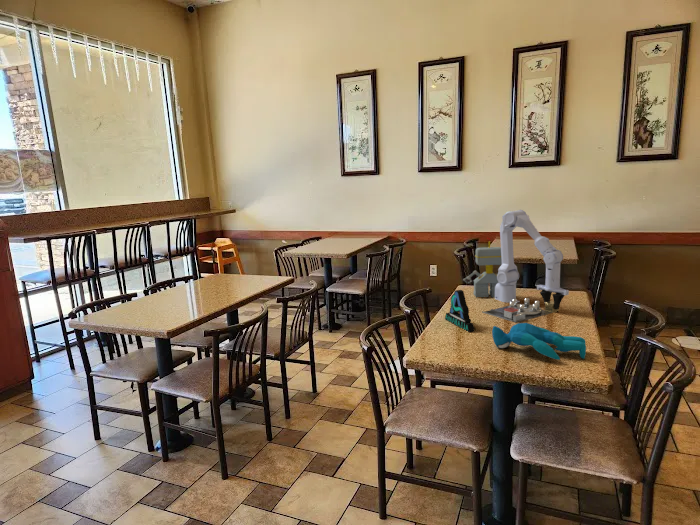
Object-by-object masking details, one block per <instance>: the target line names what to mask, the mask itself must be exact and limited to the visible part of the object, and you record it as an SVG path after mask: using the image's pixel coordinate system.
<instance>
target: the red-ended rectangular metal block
mask: <svg viewBox="0 0 700 525" xmlns="http://www.w3.org/2000/svg"><path fill="white" fill-rule="evenodd" d="M517 314H518V309H515V308H512V307H510V308H506V309H504V318H507V319H510V320H513V315H517Z"/></svg>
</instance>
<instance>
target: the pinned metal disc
mask: <svg viewBox="0 0 700 525" xmlns="http://www.w3.org/2000/svg"><path fill="white" fill-rule="evenodd" d="M517 300H518V299H517V298H516V299H512V302H510V303H509V305H508V306H509V307H508V308H510V307H512V308H515V309H518V314H521V313H523V314H525V316H533V315H538V314H541V313H542V310H543V309H542V307H540V305H541V304H540V303H541V302H540V301H539V300H534V303H532V304H530V298H528V297H527V298H524V303H517Z"/></svg>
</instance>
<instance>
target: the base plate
mask: <svg viewBox="0 0 700 525" xmlns="http://www.w3.org/2000/svg"><path fill="white" fill-rule="evenodd" d="M509 306H510V305H506V306H502V307H498V308H495V309H493V308H490V310H487V311H483V310H482V311H481V314H482V313H483V314H486V315H489V316H493V317H495V318H499V319H502V320H505V321H509V322H512V323H516V324H518V323H522V322H525V321H528V320H532V319H535V318H539V317H543V316H546V315H550V314H554V313H553V312H549V311H546V310H545V309H542V313H541V314H538V315H533V316H525V314H523V313H521V314H517V315H513V320H510V319H507V318H504V309H506V308H508V307H509Z"/></svg>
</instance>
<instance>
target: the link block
mask: <svg viewBox="0 0 700 525" xmlns="http://www.w3.org/2000/svg"><path fill="white" fill-rule="evenodd" d="M544 310H546V311H549V312H553V313H552V314H554V313H557V311H558V312H559V310H560V308H559V309H557V310H555V309H554V300H550V301H548V302H545V304H544Z"/></svg>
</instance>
